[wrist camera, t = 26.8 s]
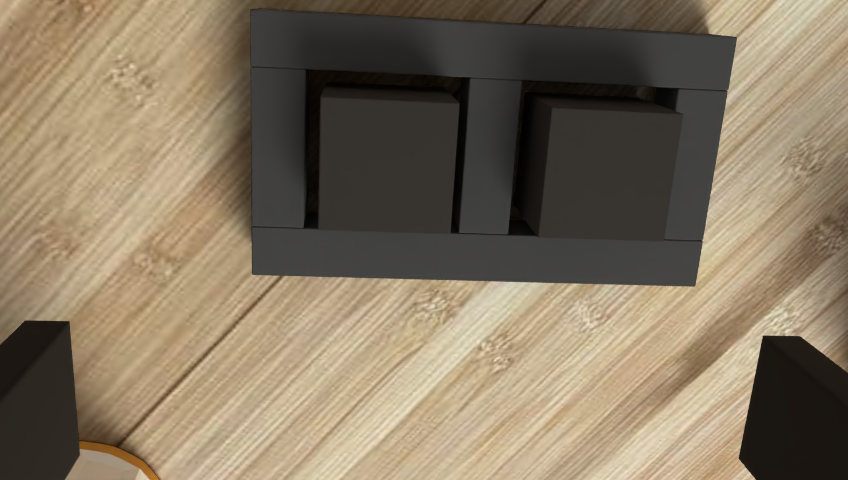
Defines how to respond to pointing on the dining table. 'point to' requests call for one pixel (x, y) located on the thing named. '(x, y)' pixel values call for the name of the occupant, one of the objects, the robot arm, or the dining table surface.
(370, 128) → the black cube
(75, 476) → the cup
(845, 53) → the dining table surface
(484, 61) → the base frame
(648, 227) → the dark grey cube
